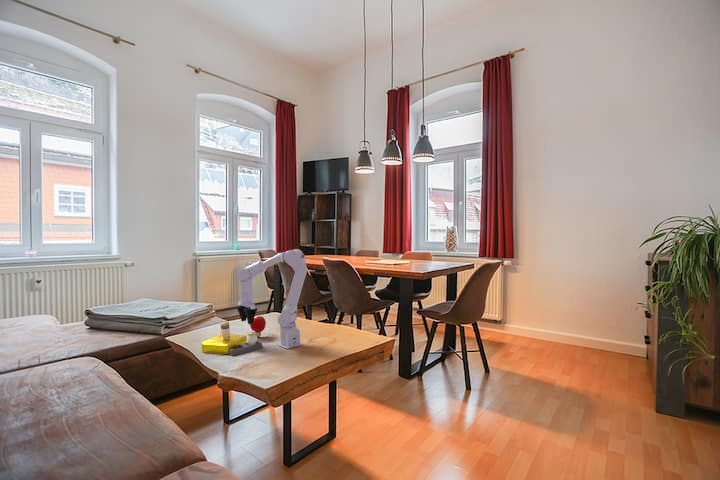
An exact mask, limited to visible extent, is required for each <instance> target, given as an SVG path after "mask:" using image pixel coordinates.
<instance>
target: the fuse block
mask: <svg viewBox="0 0 720 480" xmlns="http://www.w3.org/2000/svg"><path fill="white" fill-rule="evenodd" d="M260 349H263V342H260V341H259V340H257V339H256V345H251V346H248V342H247V343H243V344H239V345H236V346H235V350H233V349H231V348H229V349H228V354H227V355H229V356H231V357H233V356H236V355H241V354H245V353H249V352H253V351H257V350H260Z"/></svg>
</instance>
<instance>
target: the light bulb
mask: <svg viewBox="0 0 720 480" xmlns="http://www.w3.org/2000/svg"><path fill="white" fill-rule="evenodd" d="M266 325H267V322H266V318H265V317H264V316H262V315H261V316H260V315H258V316H256V317H254V322H253V324H249V326H250V330H252V332H256V338H260V337H261V336H262V332H263V331H264V330H265V328H266Z"/></svg>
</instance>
